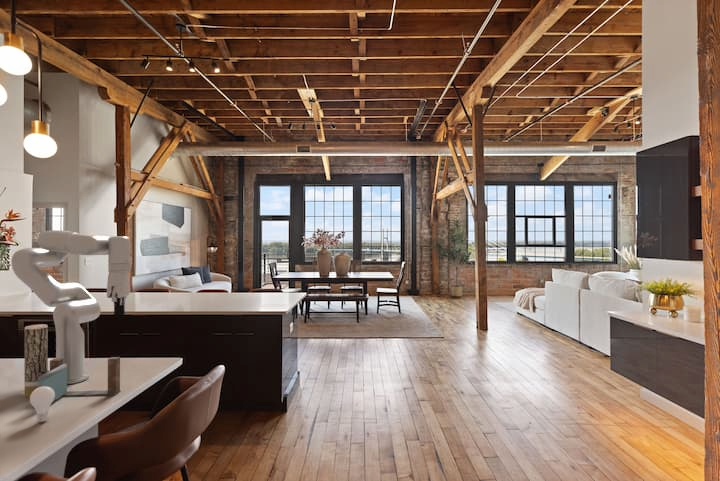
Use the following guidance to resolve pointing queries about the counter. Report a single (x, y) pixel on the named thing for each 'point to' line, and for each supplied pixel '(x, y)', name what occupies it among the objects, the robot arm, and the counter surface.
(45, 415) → the lightbulb
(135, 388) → the counter surface
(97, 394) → the gate frame
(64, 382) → the gate
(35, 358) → the wooden log
